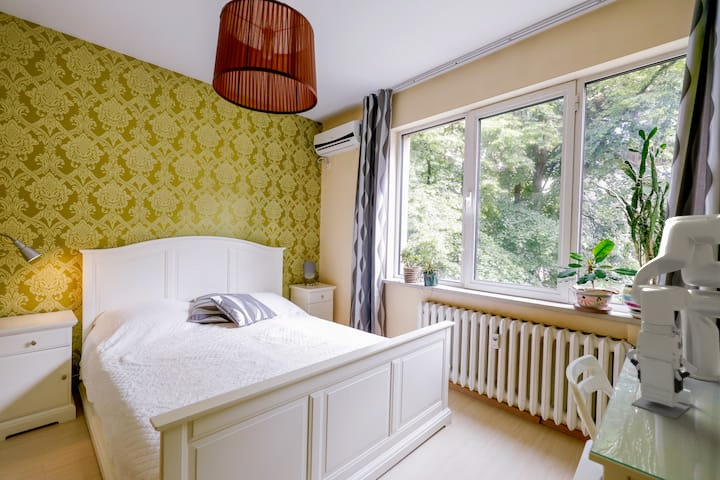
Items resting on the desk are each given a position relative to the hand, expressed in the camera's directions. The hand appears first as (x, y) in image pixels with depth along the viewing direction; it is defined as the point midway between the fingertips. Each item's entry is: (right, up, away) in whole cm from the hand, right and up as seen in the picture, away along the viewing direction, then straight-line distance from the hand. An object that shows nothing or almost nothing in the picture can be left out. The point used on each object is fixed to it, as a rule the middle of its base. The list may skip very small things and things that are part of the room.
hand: (659, 386), depth 99 cm
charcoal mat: (0, -6, 0) cm, 6 cm away
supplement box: (0, -4, 0) cm, 4 cm away
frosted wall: (+7, -6, +6) cm, 11 cm away
